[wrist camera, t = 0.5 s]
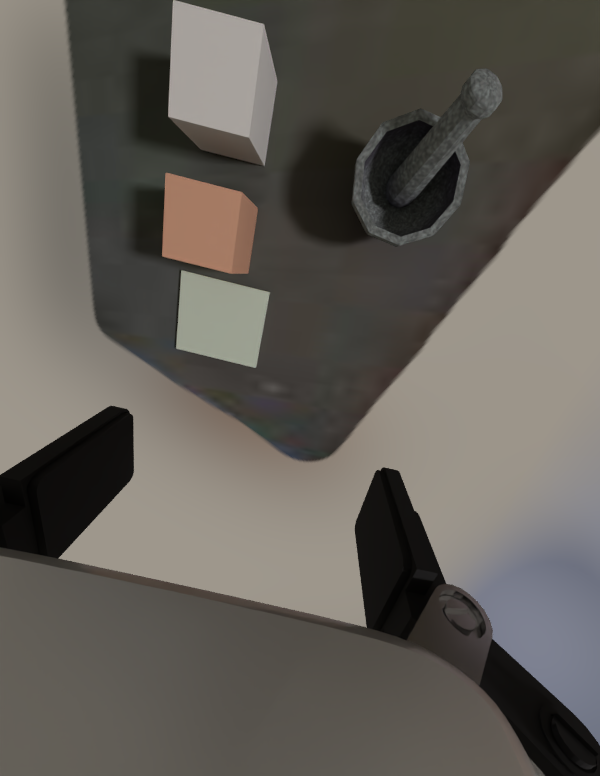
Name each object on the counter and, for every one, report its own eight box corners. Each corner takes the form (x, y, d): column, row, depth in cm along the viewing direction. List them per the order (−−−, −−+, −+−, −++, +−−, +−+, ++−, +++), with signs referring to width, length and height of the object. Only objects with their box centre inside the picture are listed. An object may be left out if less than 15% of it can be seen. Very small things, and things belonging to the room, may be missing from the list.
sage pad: (182, 270, 35) (181, 270, 35) (269, 292, 36) (269, 292, 35) (177, 347, 39) (176, 348, 39) (256, 367, 39) (255, 367, 39)
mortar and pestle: (390, 268, 34) (423, 265, 23) (329, 211, 32) (332, 178, 21) (468, 176, 30) (554, 119, 19) (404, 106, 28) (456, -1, 17)
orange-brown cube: (197, 192, 32) (165, 172, 26) (258, 208, 32) (241, 192, 26) (191, 259, 35) (162, 256, 28) (248, 273, 35) (231, 273, 29)
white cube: (207, 62, 28) (173, -1, 22) (277, 81, 28) (263, 24, 22) (200, 149, 31) (168, 116, 24) (264, 166, 31) (249, 137, 24)
